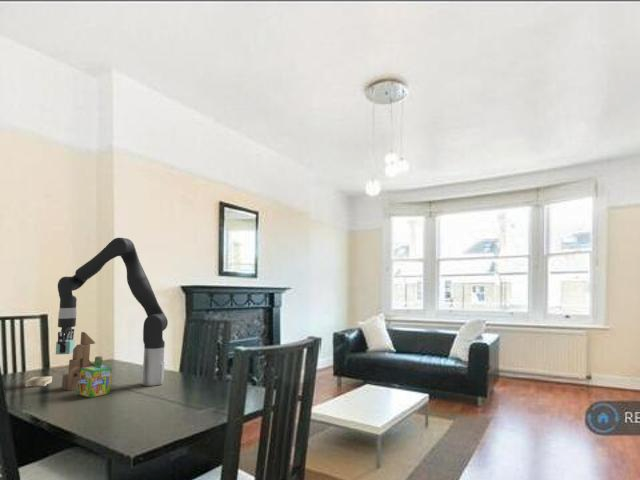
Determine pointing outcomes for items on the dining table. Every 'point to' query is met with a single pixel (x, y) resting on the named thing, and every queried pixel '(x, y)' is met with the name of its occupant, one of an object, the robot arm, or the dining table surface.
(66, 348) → the teal cube
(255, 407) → the dining table surface
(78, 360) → the wooden toy
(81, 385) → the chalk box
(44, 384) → the maple pedestal
